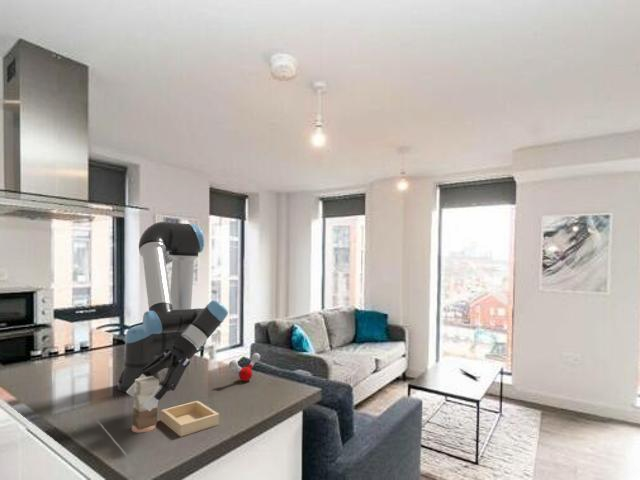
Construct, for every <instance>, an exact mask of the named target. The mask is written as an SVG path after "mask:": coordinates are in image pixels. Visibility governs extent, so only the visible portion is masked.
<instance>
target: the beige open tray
mask: <svg viewBox="0 0 640 480" xmlns="http://www.w3.org/2000/svg"><path fill="white" fill-rule="evenodd" d="M160 410H161V411H160V422H161V423H163V424H164V425H166V426H167V427H168V428H169V429H170V430H172V431H173V432H174V433H176V435H178V436H179V437H180V438H182V437H185V436H188V435H191V434H194V433H197V432H200V431H203V430H207V429H210V428H213V427H215V426H219V424H220V413H218V412H217V411H216V410H214V409H213V408H210V407H209V406H208V405H206V404H204V403H203V402H201V401H199V400H195V401H194V400H193V401H190V402H187V403H184V404H180V405H175V406H172V407H168V408H164V409H160Z"/></svg>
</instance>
